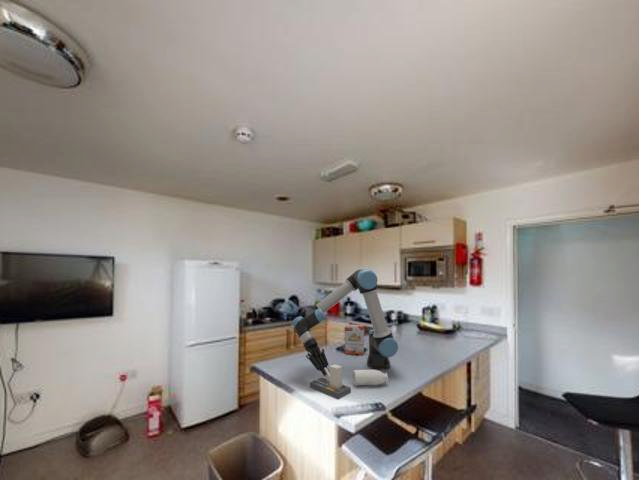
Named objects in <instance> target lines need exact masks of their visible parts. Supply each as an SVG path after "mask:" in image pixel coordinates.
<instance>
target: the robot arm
mask: <svg viewBox="0 0 639 480" xmlns="http://www.w3.org/2000/svg"><path fill="white" fill-rule="evenodd" d="M357 290H358V291H359V294H360V295H362V296H363V298H364V299H363V300H364V303H365V305H366V309H367V313H368V316H369V318H370V321H371V322H370V323H371V325H372V329H370V330H369V331H368V347H369V348H368V350H369V351H368V352H369V353H368V356H367V359H366V366H367V367H369V368H370V369H372V370H387V369H389V368H390V367H391V361H390V358H392V357H394V356H395V355H396V354H397V352H398V351H399V344H398V342H397V340H396V339H395V338H394V336H393V332H392V330H391V329H389V328H388V325H387V322H386V318H385V315H384V311H383V308H382V306H381V302H380V299H379V296H378V295H379V294H378V291H379V287H378V277H377V274H376V273H375V272H374V271H373V270H371V269H357V270H356V271H354V272H353V273H352V274H350V276H348V277H347V278H346V279H345V282H344V283H342V284H341V285H340V286H338V287H337V288H335V289H334V290H332V292H331V293H329V294H328V295H327V296H326V297H324V298H323V299H321V300H320V301H319V302H318V303H316V304H315V305H314V306H312V307H310V308H308V309H307V311H306V316H305V317H303V316H302V315H300V316H297V317H295V318H294V319H293V320H292V322H291V324H292V326H293V329H294V331H295V332H296V335H297V336H298V338H299V341H301V344H302V345H303V347H304V350H305V352H307V354H306V356H305V357H306V358H307V360H309V361H310V363H311V365H312V366H314V368H315V369H316V371H319V372H321V373H322V375H323V377H324V378H326V379H327V381H328V382H329V381H330V369H329V368H328V366H329V361H328V359H327V356H326V353H325V349H324V348H322V349H321V348H320V347H319V346H318V342H317V340H316V338H315V336H314V334H313V333H312V330H311V329H313V328H314V327H316V326H317V325H319V324H320V323H322V322H324V321H325V320H326V319H327V317H326V316H325V313H326V312H328V311H329V310H330V309H331V308H333V307H335V305H336V304H338V303H339V302H341V301H342V300H343V299H344V298H345V297H347V296H348V295H349V294H351V293H352V292H355V291H357Z"/></svg>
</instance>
